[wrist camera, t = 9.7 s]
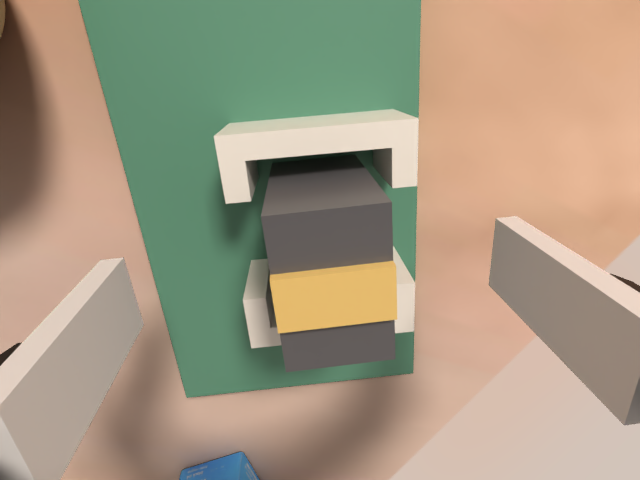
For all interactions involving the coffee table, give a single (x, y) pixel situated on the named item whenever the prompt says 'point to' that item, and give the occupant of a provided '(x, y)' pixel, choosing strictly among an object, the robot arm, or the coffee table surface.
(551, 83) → the coffee table surface
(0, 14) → the flower pot
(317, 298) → the plug
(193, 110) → the board
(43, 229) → the coffee table surface
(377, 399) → the coffee table surface
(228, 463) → the ink box
